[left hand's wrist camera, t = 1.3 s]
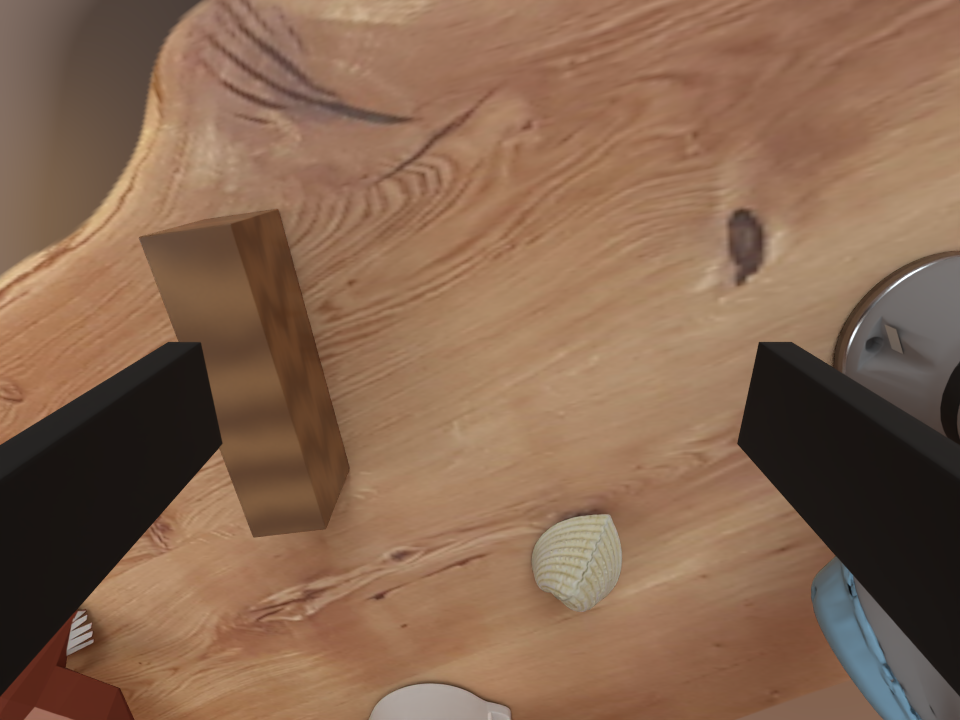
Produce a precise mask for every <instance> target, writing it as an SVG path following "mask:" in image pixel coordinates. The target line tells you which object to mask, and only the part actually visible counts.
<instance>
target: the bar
mask: <svg viewBox="0 0 960 720" xmlns="http://www.w3.org/2000/svg"><path fill="white" fill-rule="evenodd" d="M139 239H140V242H141V245H142V247H143V250H144V252H145V255H146V258H147V260H148V263H149V266H150V268H151V271H152V273H153V276H154V279H155V281H156V284H157V286H158V289H159V292H160V294H161V297H162V300H163V302H164V305H165V307H166V310H167V313H168V315H169V318H170V320H171V323H172V326H173V328H174V331H175V334H176V336H177V339H178V341H179V342H201V345H202V349H203V354H204V359H205V363H206V368H207V373H208V377H209V382H210V387H211V391H212V396H213V401H214V405H215V410H216V415H217V419H218V424H219V429H220V433H221V438H222V443H223V444H222V445H221V446H220V447H219V449H220V451H221V454H222V456H223V459H224V462H225V464H226V467H227V469H228V472H229V475H230V477H231V480H232V483H233V485H234V488H235V490H236V493H237V496H238V498H239V501H240V503H241V506H242V509H243V511H244V514H245V517H246V519H247V522H248V524H249V527H250V530H251V532H252V535H253V537H262V536H271V535H279V534H288V533H296V532H305V531H313V530H322V529H326V527H327V525H328V522H329V520H330V517H331V515H332V512H333V510H334V507H335V504H336V502H337V499H338V497H339V494H340V492H341V489H342V487H343V484H344V481H345V479H346V476H347V474H348V471H349V469H350V468H349V464H348V461H347V457H346V453H345V450H344V446H343V442H342V439H341V435H340V432H339V428H338V424H337V421H336V417H335V413H334V410H333V406H332V403H331V399H330V395H329V392H328V388H327V384H326V381H325V377H324V374H323V370H322V366H321V363H320V359H319V355H318V352H317V348H316V345H315V341H314V337H313V334H312V330H311V327H310V323H309V319H308V316H307V312H306V308H305V305H304V301H303V298H302V294H301V290H300V287H299V283H298V279H297V276H296V272H295V269H294V265H293V261H292V258H291V254H290V250H289V247H288V243H287V240H286V236H285V232H284V229H283V225H282V221H281V218H280V214H279V211H278V209H273V210H266V211H259V212H253V213H246V214H239V215H232V216H225V217H218V218H211V219H205V220H201V221H197V222H193V223H189V224H186V225H182V226H178V227H174V228H171V229H167V230H163V231H159V232H155V233H152V234H148V235H144V236H140V237H139Z"/></svg>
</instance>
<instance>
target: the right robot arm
mask: <svg viewBox="0 0 960 720" xmlns="http://www.w3.org/2000/svg"><path fill="white" fill-rule="evenodd" d="M369 720H511V711H510V709H509V708H508V707H506V706H503V705H500V704H496V703H491V702H487V701H484V700H482V699H480V698H479V697H477V696H475V695H474V694H472V693H470V692H468V691H466V690H464V689H461V688H458V687H454V686H450V685H445V684H433V683H428V684H417V685H411V686H407V687H404V688H401V689H398V690H396V691H393V692H392V693H390V694H388V695H386V696H385V697H384V698H382V699H381V700H380V701H379V702H378V703H377V705H376V706H375V707H374V709H373V711H372V713H371V715H370V718H369Z"/></svg>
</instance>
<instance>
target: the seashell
mask: <svg viewBox="0 0 960 720" xmlns="http://www.w3.org/2000/svg"><path fill="white" fill-rule="evenodd" d="M621 565H622V551H621V544H620V539H619V536H618V533H617V530H616V528H615V526H614V524H613V521H612V518H611V516H610V515H609V514H601V515H587V516H579V517H574V518H570V519H567V520H564V521H562V522H559V523H557V524H555V525H554V526H552V527H551V528H549V529H548V530H547V531H546V532H544V534H543V535H542V536H541V537H540V538H539V540H538V541H537V543H536V545H535V547H534V550H533V553H532V569H533V573H534V576H535V580H536V583H537V585H538V586H539V588H540V589H541V590H543V591H545V592H551V593H552V594H553V595H554V596H555V597H556V598H557V599H558V600H561V601H562V602H563V604H564V605H566V606H567V607H568V608H570V609H572V610H574V611H578V612H585V611H586V610H589V609H591V608H592V607H594V606H595V605H596V604H597V603H598V602H599V601H601V600H602V599H604V598H605V597H606V596H607V595H608V594H609V593H610V592H611V591H612V589H613V588H614V587H615V585H616V583H617V581H618V578H619V575H620V572H621Z"/></svg>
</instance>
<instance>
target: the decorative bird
mask: <svg viewBox="0 0 960 720" xmlns="http://www.w3.org/2000/svg"><path fill="white" fill-rule="evenodd" d="M85 612H86V609H85V610H81V611H75V612H74V613H73V615H72V616H71V617H70V618H69V619H68V620H67V621H66V623H65V624H64V625H63V626H62V627H61V628H60V629H59V630H58V632H57V633H56V634H55V635H54V636H53V637H52V638H51V640H50V641H49V642H48V643H47V644H46V645H45V646H44V648H43V649H42V650H41V651H40V652H39V653H38V654H37V656H36V657H35V658H34V659H33V660H32V661H31V662H30V663H29V665H28V666H27V667H26V668H25V669H24V670H23V671H22V673H21V674H20V675H19V676H18V677H17V678H16V679H15V681H14V682H13V683H12V684H11V685H10V686H9V687H8V688H7V690H6V691H5V692H4V693H3V694H2V695H1V696H0V720H134V718H133V716H132V713H131V711H130V709H129V707H128V705H127V702H126V700H125V698H124V696H123V694H122V692H121V689H120V688H118V687H115V686H112V685H110V684H107V683H104V682H102V681H99V680H96V679H93V678H91V677H88V676H85V675H83V674H80V673H78V672H75V671H73V670H70V669H67V668H65V667H66V660H67V656H68V655H70V654H72V653H74V652H76V651H78V650H80V649H82V648H84V647H86V646H88V645H90V644H92V643H93V642H94V639H93V640H91V641H88V642H86V643H83V644H81V643H82V642H84V641H86V640H87V639H89V638H91V637H92V636H93V631H91V632H89V633H86V634H84V635H82V636H80V635H81V634H83V633H85V632H86V631H88V630H90V629H91V628H92V623H90V624H87V625H85V626H83V627H80V628H78V629H76V628H77V627H79V626H80V625H81V624H83V623H84V622H85V621H87V616H88V615H86V616H84V617H82V618H80V619H78V618H79V617H80V616H82V615H83V614H84V613H85ZM77 619H78V620H77ZM75 629H76V630H75ZM73 630H74V631H73ZM78 636H79V637H78ZM76 637H77V638H76ZM79 644H81V645H79ZM77 645H79V646H77ZM75 646H76V647H75Z"/></svg>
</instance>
